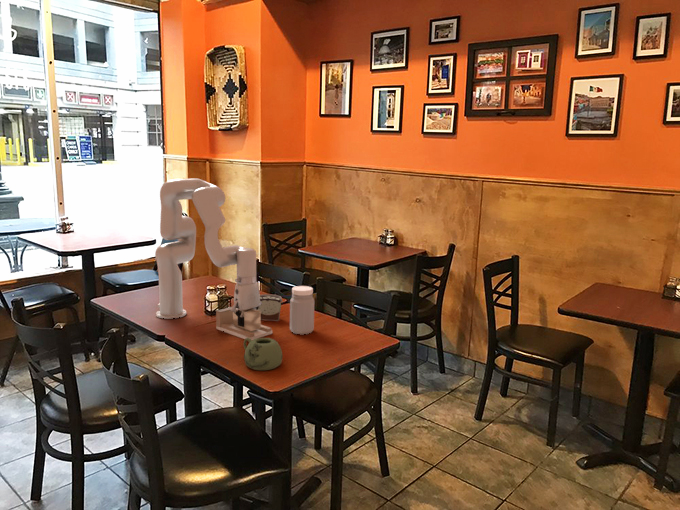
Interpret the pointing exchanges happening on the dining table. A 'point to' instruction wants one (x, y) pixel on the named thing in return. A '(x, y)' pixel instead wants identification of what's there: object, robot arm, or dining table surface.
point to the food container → (270, 307)
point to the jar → (302, 310)
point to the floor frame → (226, 324)
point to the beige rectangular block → (249, 319)
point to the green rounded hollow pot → (262, 353)
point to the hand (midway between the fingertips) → (246, 323)
